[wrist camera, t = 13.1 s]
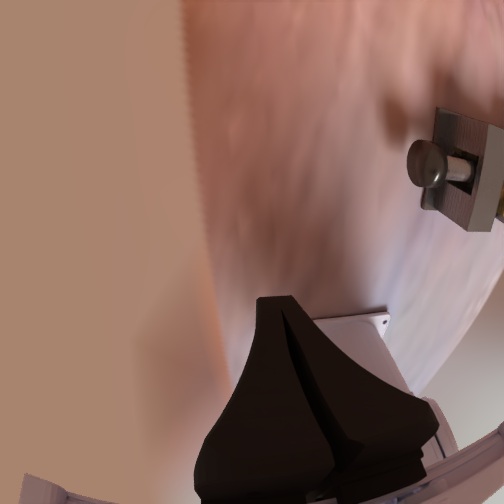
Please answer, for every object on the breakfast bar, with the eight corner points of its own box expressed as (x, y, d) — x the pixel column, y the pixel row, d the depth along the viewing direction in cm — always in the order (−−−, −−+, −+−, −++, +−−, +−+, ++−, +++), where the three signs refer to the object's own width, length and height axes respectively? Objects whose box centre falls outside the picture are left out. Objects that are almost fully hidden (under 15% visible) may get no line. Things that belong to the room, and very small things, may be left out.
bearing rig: (518, 137, 17) (552, 151, 13) (502, 213, 21) (532, 234, 17) (436, 107, 16) (479, 116, 12) (421, 207, 20) (456, 234, 16)
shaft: (518, 164, 18) (541, 175, 15) (512, 194, 19) (533, 207, 16) (409, 135, 16) (437, 145, 14) (404, 178, 18) (429, 193, 15)
